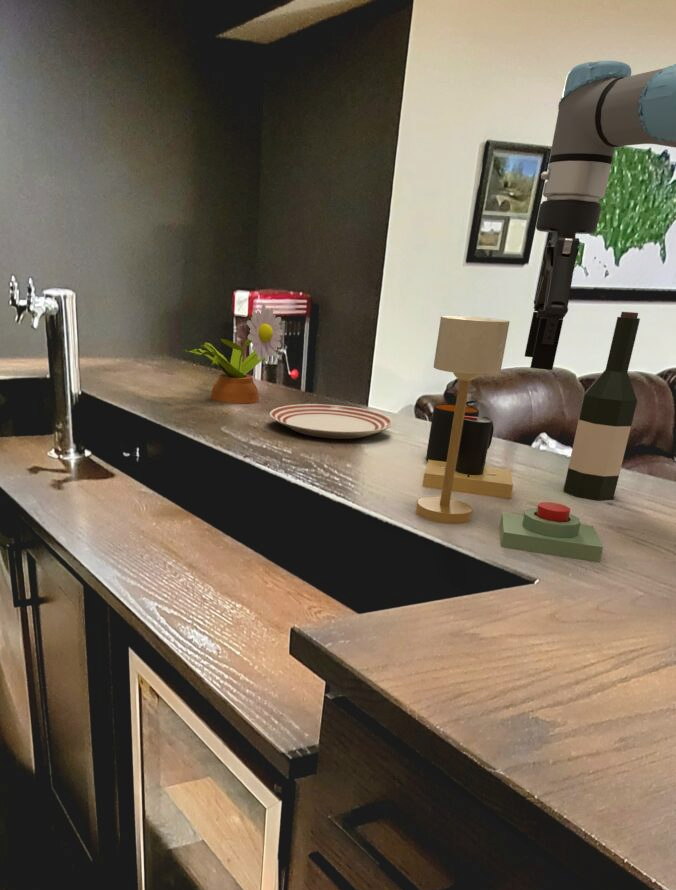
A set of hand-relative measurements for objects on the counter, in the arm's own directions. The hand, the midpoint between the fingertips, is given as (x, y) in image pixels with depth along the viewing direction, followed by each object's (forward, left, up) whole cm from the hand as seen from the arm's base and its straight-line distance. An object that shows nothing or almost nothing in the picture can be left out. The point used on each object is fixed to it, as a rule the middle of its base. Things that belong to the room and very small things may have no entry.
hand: (537, 363), depth 103 cm
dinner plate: (+36, -46, -23) cm, 63 cm away
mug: (+8, -31, -23) cm, 39 cm away
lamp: (+9, +5, -23) cm, 25 cm away
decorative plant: (+67, -72, -23) cm, 101 cm away
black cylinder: (+6, -14, -20) cm, 25 cm away
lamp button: (-5, +11, -19) cm, 23 cm away
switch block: (-5, +11, -23) cm, 26 cm away
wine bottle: (-14, -20, -23) cm, 33 cm away
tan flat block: (+6, -14, -23) cm, 27 cm away
